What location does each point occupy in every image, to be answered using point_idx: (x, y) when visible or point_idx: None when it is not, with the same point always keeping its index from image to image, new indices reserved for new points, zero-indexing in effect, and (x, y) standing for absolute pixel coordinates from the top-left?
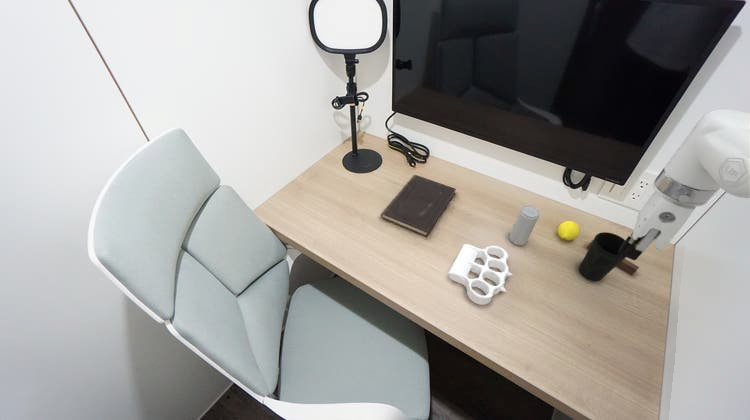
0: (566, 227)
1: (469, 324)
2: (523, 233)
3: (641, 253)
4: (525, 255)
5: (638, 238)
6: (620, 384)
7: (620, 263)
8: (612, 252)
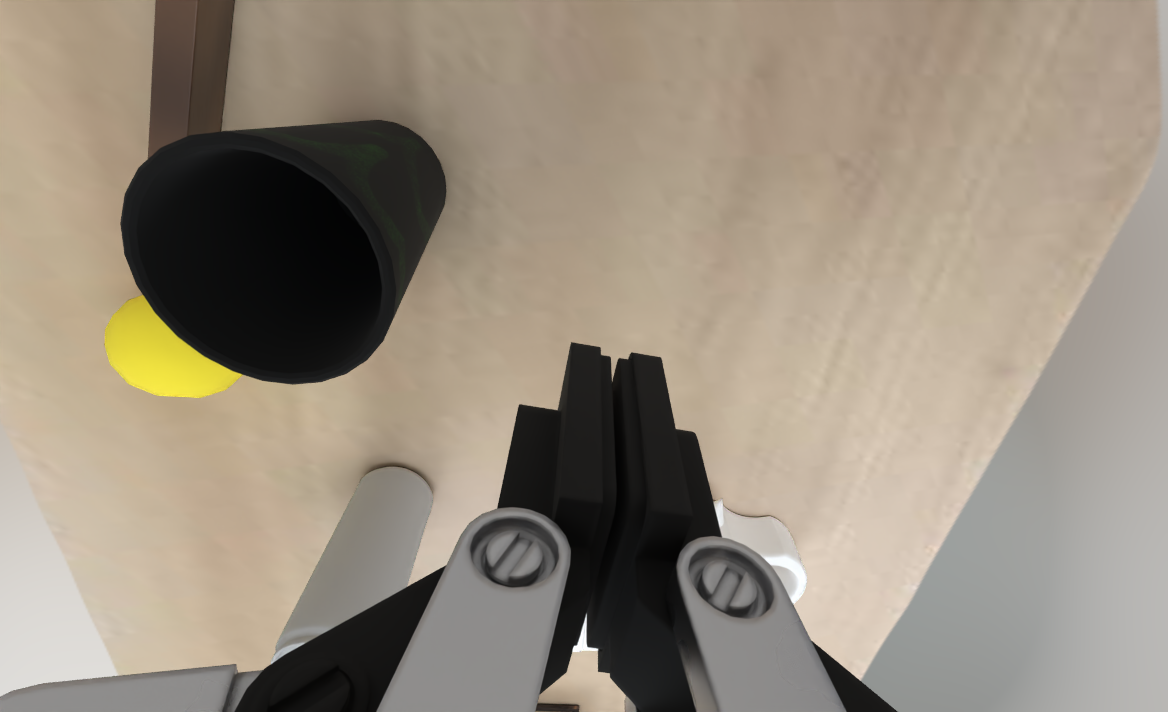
0: (194, 387)
1: (878, 542)
2: (409, 554)
3: (674, 430)
4: (466, 451)
5: (569, 645)
6: (1016, 11)
7: (210, 28)
8: (248, 171)
